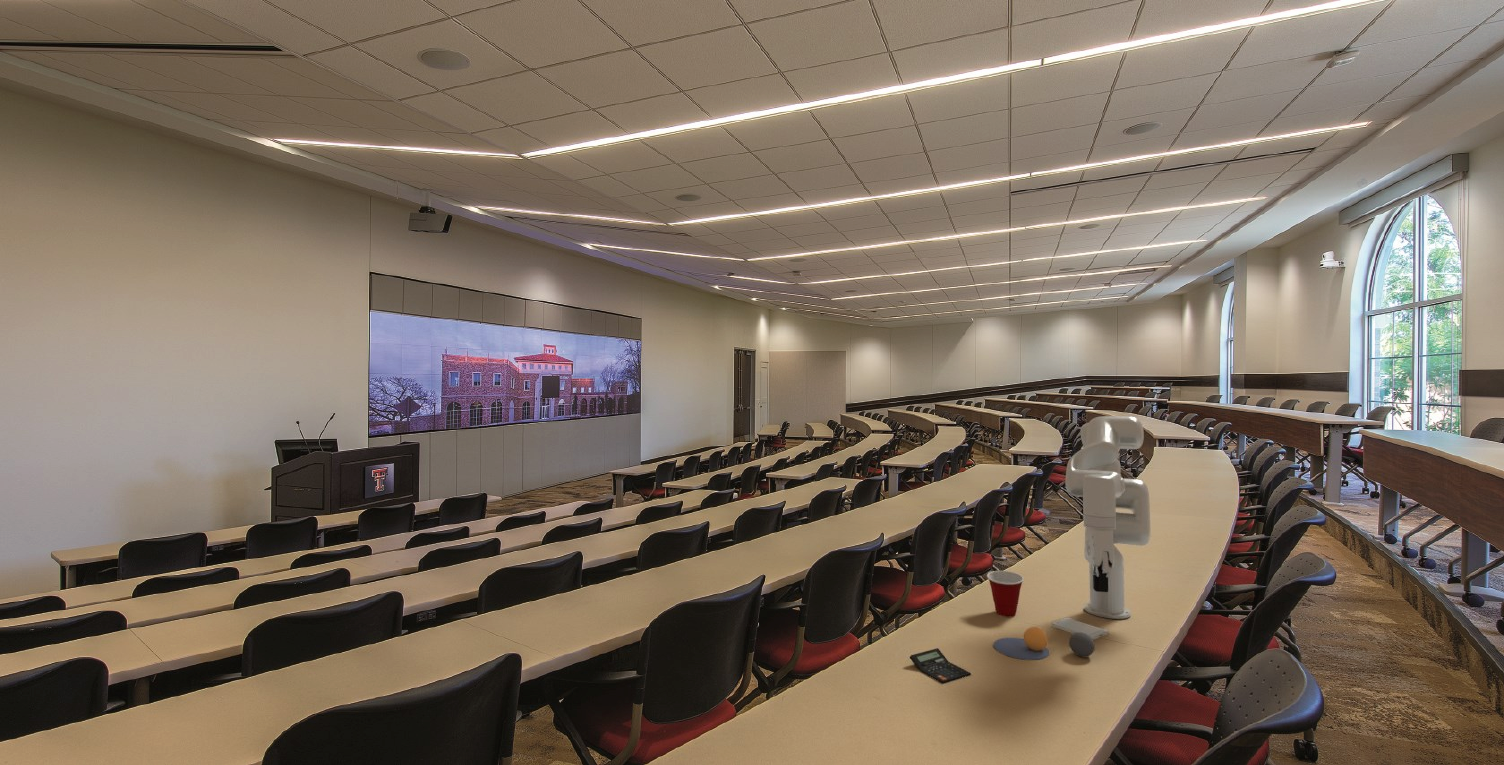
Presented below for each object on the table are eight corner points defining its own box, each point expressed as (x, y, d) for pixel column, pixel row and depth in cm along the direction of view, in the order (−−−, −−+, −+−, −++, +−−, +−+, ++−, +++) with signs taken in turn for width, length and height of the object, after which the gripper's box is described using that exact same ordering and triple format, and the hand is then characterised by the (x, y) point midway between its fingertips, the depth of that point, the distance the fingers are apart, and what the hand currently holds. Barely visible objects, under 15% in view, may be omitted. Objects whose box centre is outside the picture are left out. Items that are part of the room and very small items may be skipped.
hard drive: (1051, 622, 185) (1093, 636, 174) (1067, 617, 189) (1108, 630, 179) (1051, 628, 185) (1093, 642, 174) (1067, 622, 189) (1108, 635, 179)
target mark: (990, 636, 177) (990, 635, 177) (1043, 640, 174) (1043, 640, 174) (996, 657, 164) (996, 656, 164) (1054, 662, 160) (1054, 661, 160)
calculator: (942, 685, 150) (942, 672, 150) (909, 666, 160) (909, 654, 160) (970, 676, 154) (970, 664, 154) (936, 658, 164) (936, 647, 164)
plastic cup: (987, 617, 192) (986, 578, 192) (987, 606, 202) (987, 569, 202) (1025, 622, 188) (1024, 582, 188) (1024, 610, 198) (1023, 572, 198)
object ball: (1047, 644, 170) (1023, 646, 172) (1043, 623, 170) (1020, 624, 172) (1052, 654, 164) (1028, 655, 166) (1048, 631, 165) (1024, 633, 166)
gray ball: (1093, 636, 167) (1077, 651, 168) (1076, 623, 166) (1060, 638, 168) (1103, 650, 161) (1086, 666, 162) (1086, 637, 160) (1069, 653, 162)
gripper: (1076, 515, 173) (1077, 581, 172) (1091, 527, 158) (1093, 599, 158) (1106, 516, 171) (1107, 583, 171) (1124, 528, 156) (1126, 601, 156)
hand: (1100, 590), depth 164 cm, fingers closed
